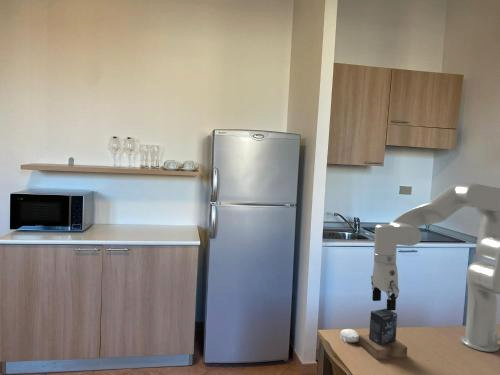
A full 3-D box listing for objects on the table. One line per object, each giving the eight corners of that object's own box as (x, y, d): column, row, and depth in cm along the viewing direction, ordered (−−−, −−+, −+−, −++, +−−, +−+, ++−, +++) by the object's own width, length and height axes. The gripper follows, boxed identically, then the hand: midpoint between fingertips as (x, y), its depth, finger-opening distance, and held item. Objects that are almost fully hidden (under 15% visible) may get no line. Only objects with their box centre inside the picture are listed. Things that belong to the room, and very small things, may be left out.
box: (380, 346, 133) (382, 316, 133) (368, 339, 138) (370, 310, 138) (396, 342, 137) (397, 313, 136) (384, 335, 142) (385, 307, 141)
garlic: (363, 344, 142) (364, 334, 142) (347, 346, 140) (348, 336, 140) (352, 335, 149) (353, 326, 149) (337, 336, 148) (337, 327, 148)
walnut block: (386, 343, 144) (387, 333, 144) (406, 358, 133) (407, 347, 133) (358, 345, 142) (358, 335, 141) (376, 361, 130) (376, 350, 130)
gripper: (408, 264, 129) (407, 313, 130) (381, 253, 146) (380, 296, 147) (388, 264, 128) (387, 314, 128) (363, 253, 145) (362, 297, 145)
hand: (383, 305), depth 138 cm, fingers open, 9 cm apart
